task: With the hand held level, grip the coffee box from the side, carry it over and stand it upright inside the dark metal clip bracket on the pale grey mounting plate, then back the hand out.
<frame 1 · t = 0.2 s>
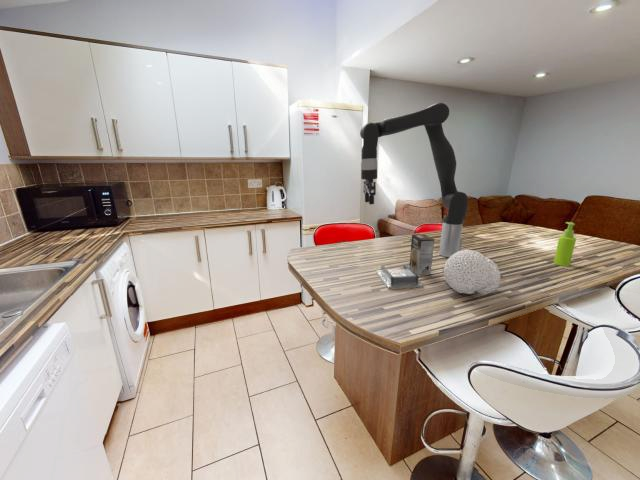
hand: (369, 203, 132), 28 cm above the breakfast bar, fingers open, 8 cm apart
soap dispenser: (560, 264, 130), on the breakfast bar
clip bracket: (397, 279, 113), on the breakfast bar
coffee box: (419, 271, 122), on the breakfast bar
white coral: (467, 289, 104), on the breakfast bar
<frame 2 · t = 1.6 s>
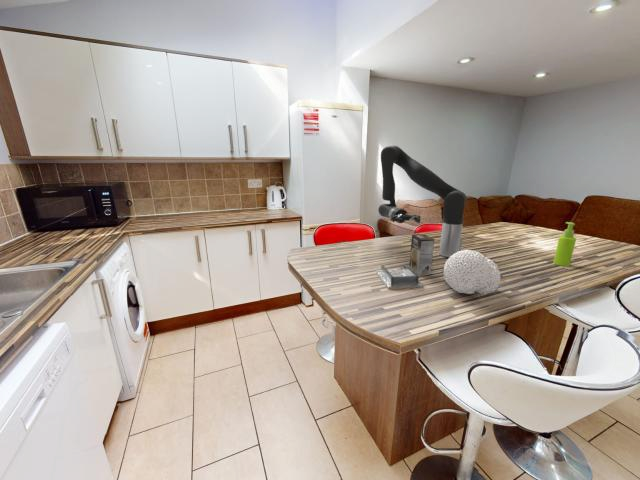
hand: (410, 221, 130), 20 cm above the breakfast bar, fingers open, 8 cm apart
nothing on the breakfast bar moved.
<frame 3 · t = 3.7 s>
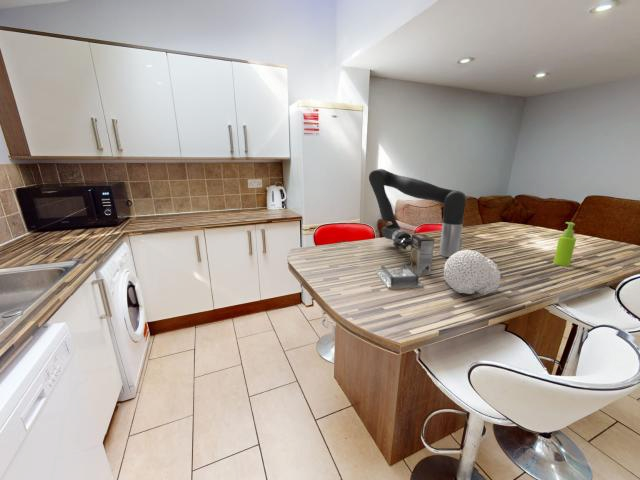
hand: (414, 247, 127), 9 cm above the breakfast bar, fingers open, 8 cm apart
nothing on the breakfast bar moved.
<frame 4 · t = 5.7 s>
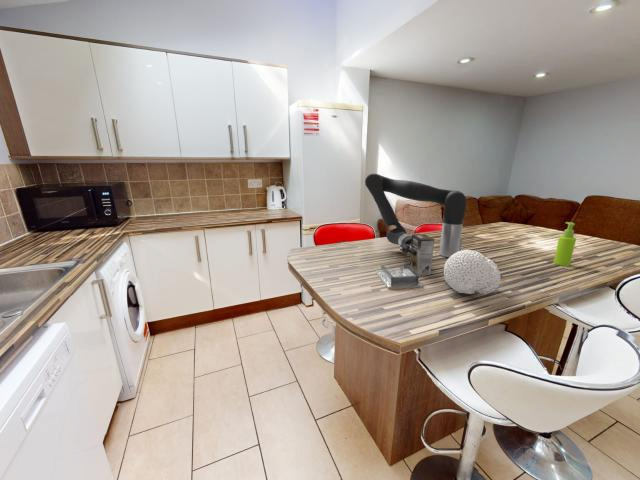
hand: (423, 253, 118), 9 cm above the breakfast bar, fingers closed on coffee box, 6 cm apart
coffee box: (419, 271, 122), on the breakfast bar, touching gripper
everything else where it was.
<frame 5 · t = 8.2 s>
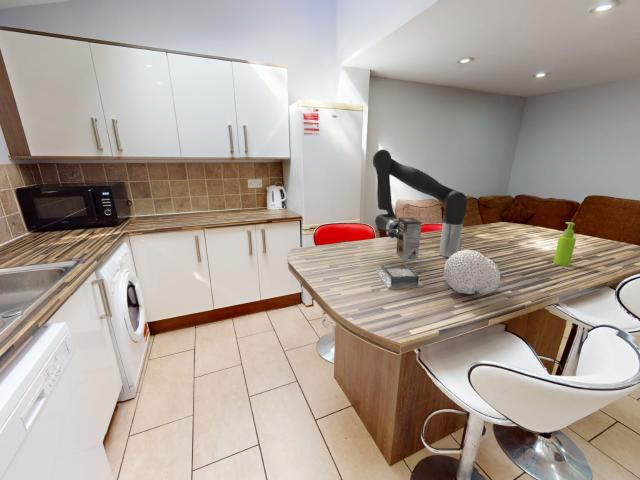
hand: (410, 237, 110), 18 cm above the breakfast bar, fingers closed on coffee box, 6 cm apart
coffee box: (406, 257, 115), point 8 cm above the breakfast bar, touching gripper
everything else where it was.
when the fingers open (11 cm above the breakfast bar, at t = 10.8 s): coffee box drops 1 cm, resting on clip bracket.
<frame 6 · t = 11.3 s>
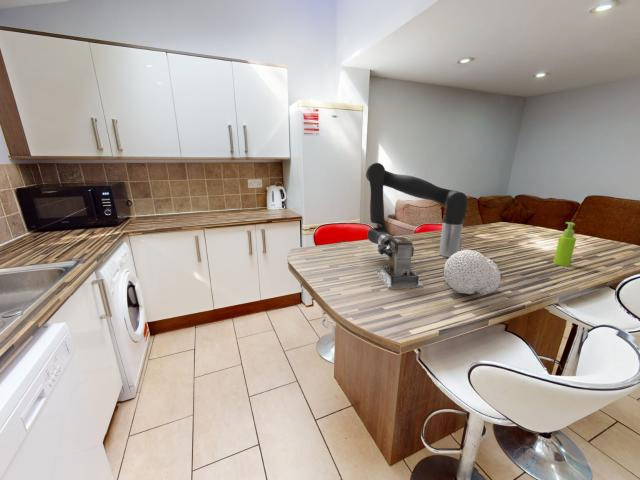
hand: (401, 254, 108), 11 cm above the breakfast bar, fingers open, 8 cm apart
coffee box: (397, 277, 113), point 1 cm above the breakfast bar, touching clip bracket
everything else where it was.
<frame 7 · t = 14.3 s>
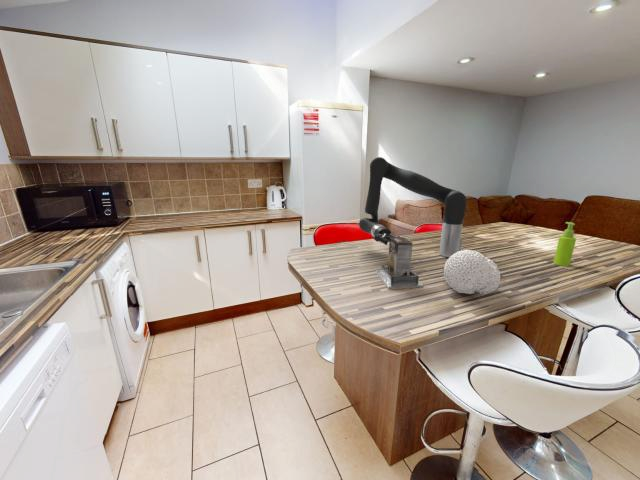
hand: (395, 243, 120), 12 cm above the breakfast bar, fingers open, 8 cm apart
nothing on the breakfast bar moved.
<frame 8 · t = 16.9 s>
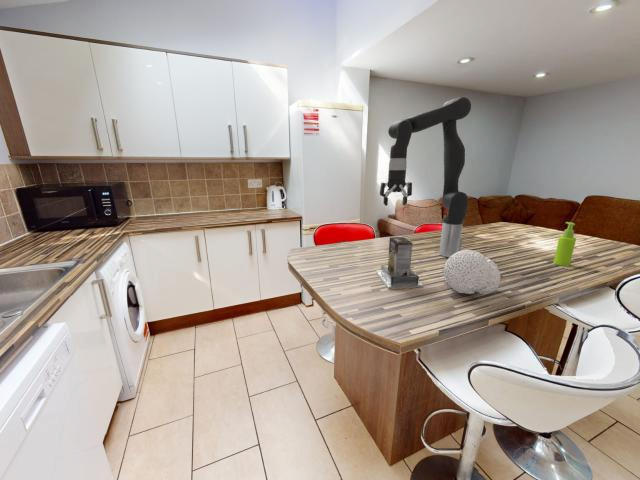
hand: (394, 205, 125), 28 cm above the breakfast bar, fingers open, 8 cm apart
nothing on the breakfast bar moved.
at the end: coffee box inside the target area on the clip bracket (0.2 cm from its centre), point 0.8 cm above the clip bracket's base; coffee box tilted 0°; the gripper is holding nothing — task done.
